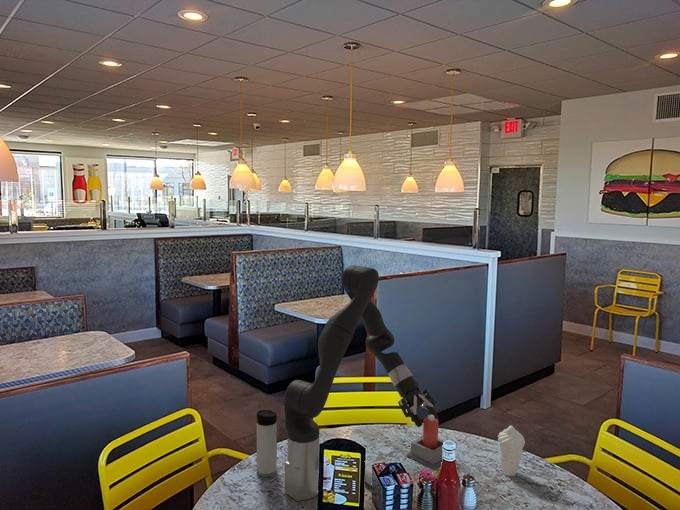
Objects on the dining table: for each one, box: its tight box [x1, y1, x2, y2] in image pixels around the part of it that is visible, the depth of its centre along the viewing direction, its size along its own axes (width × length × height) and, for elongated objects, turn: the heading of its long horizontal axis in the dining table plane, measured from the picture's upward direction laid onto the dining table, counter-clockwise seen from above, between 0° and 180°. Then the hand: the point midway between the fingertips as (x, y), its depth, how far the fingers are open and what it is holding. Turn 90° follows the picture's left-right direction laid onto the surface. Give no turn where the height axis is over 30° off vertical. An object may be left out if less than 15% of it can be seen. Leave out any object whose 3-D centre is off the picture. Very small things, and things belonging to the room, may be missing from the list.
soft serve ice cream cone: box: [497, 425, 526, 477], centre depth 159 cm, size 8×8×16 cm
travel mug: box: [256, 409, 278, 478], centre depth 157 cm, size 6×7×20 cm
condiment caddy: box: [406, 436, 445, 470], centre depth 169 cm, size 11×11×5 cm
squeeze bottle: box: [422, 414, 439, 450], centre depth 168 cm, size 5×5×14 cm
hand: (428, 422), depth 168 cm, fingers open, 8 cm apart
